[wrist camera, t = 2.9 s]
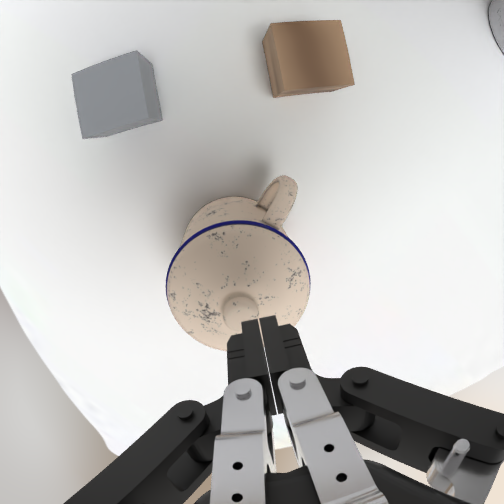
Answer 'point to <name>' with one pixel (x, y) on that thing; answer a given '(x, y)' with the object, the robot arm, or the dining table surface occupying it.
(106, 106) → the slate-grey block
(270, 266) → the teacup with lid
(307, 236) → the dining table surface
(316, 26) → the walnut block
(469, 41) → the dining table surface
